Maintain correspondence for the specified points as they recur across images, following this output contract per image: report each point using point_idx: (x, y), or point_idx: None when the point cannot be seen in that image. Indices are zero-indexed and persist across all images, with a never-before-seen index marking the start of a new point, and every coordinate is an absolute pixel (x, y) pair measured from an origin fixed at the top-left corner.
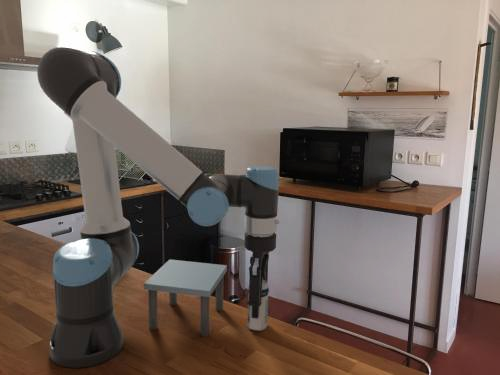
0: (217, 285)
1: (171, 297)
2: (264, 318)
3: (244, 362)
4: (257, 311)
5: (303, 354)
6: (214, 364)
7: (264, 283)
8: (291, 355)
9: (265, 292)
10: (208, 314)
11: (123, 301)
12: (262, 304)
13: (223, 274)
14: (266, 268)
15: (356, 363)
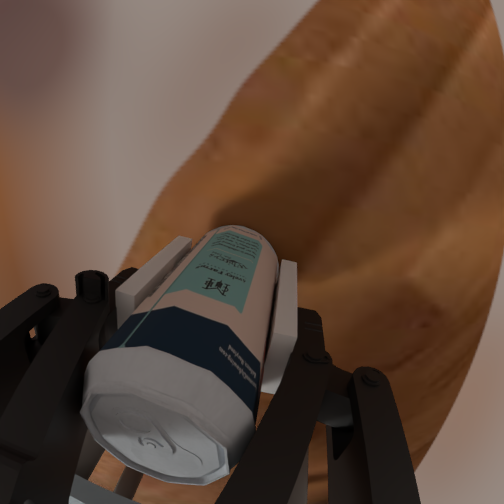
0: (104, 450)
1: (143, 473)
2: (259, 259)
3: (460, 312)
4: (322, 339)
5: (438, 93)
6: (444, 383)
7: (161, 412)
8: (446, 142)
9: (227, 357)
10: (300, 471)
11: (164, 500)
12: (260, 319)
13: (89, 487)
14: (19, 488)
15: None
